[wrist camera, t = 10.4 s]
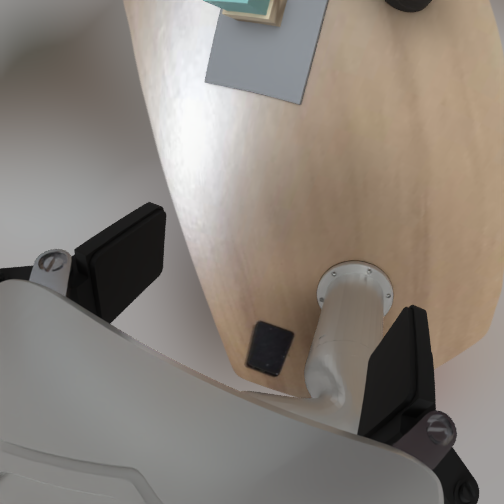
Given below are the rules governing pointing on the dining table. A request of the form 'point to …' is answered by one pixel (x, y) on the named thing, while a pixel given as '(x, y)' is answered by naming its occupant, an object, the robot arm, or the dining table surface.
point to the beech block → (271, 18)
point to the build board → (268, 52)
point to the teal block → (242, 5)
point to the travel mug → (409, 4)
